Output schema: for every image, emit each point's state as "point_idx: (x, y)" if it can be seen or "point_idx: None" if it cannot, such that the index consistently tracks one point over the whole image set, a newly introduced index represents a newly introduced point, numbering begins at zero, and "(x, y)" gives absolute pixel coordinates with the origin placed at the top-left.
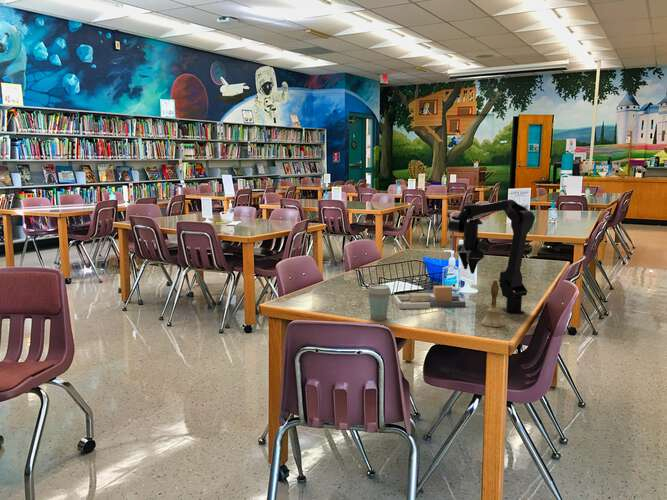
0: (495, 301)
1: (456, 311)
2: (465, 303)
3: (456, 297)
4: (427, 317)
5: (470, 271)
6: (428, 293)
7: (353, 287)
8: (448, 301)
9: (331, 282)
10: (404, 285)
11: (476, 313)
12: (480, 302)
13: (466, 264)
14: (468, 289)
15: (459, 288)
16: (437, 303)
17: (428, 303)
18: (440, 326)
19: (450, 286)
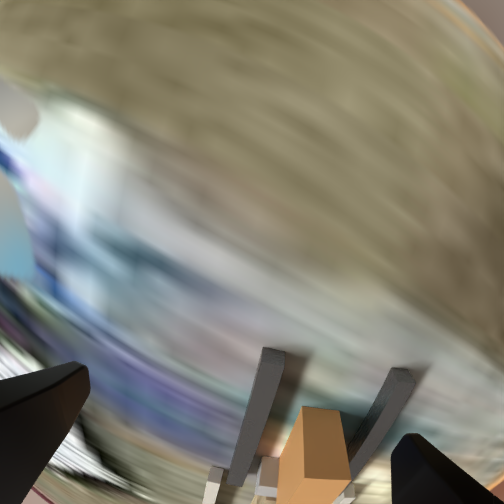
0: None
1: (441, 423)
2: (412, 379)
3: (280, 374)
4: None
5: (398, 482)
6: (272, 501)
7: (66, 488)
8: (363, 446)
9: (35, 482)
10: None
11: (500, 362)
12: (369, 244)
13: (45, 413)
14: (52, 153)
15: (30, 195)
16: (353, 475)
17: (353, 499)
18: (495, 471)
19: (322, 481)
